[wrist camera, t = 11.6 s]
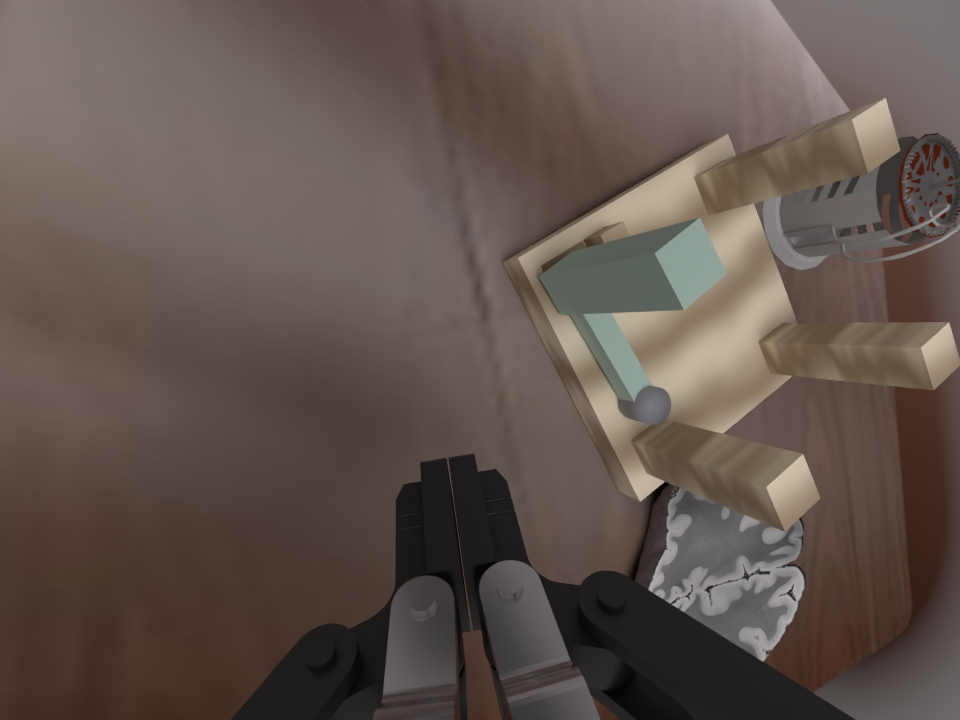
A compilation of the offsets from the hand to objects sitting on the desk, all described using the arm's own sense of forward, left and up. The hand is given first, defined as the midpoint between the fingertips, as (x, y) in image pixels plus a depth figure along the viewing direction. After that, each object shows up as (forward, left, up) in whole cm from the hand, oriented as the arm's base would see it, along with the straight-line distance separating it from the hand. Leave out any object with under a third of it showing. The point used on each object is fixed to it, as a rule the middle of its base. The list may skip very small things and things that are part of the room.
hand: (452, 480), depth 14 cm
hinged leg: (+5, +15, -16) cm, 23 cm away
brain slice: (+29, +17, -19) cm, 38 cm away
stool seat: (+7, +23, -19) cm, 30 cm away
